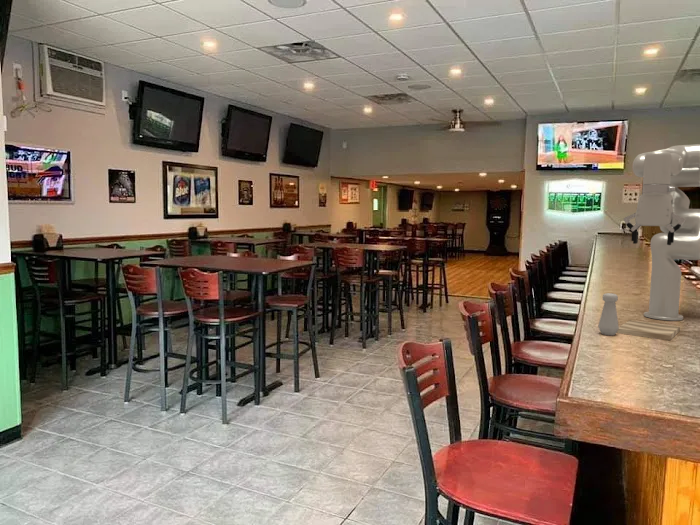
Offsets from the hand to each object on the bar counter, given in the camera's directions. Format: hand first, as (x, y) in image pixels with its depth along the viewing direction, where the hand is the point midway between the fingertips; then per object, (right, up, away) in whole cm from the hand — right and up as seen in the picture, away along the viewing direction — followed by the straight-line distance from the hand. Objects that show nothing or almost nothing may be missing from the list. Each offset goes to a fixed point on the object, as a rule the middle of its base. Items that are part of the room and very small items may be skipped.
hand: (651, 244), depth 170 cm
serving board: (0, -29, +2) cm, 29 cm away
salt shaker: (-15, -29, -2) cm, 33 cm away
